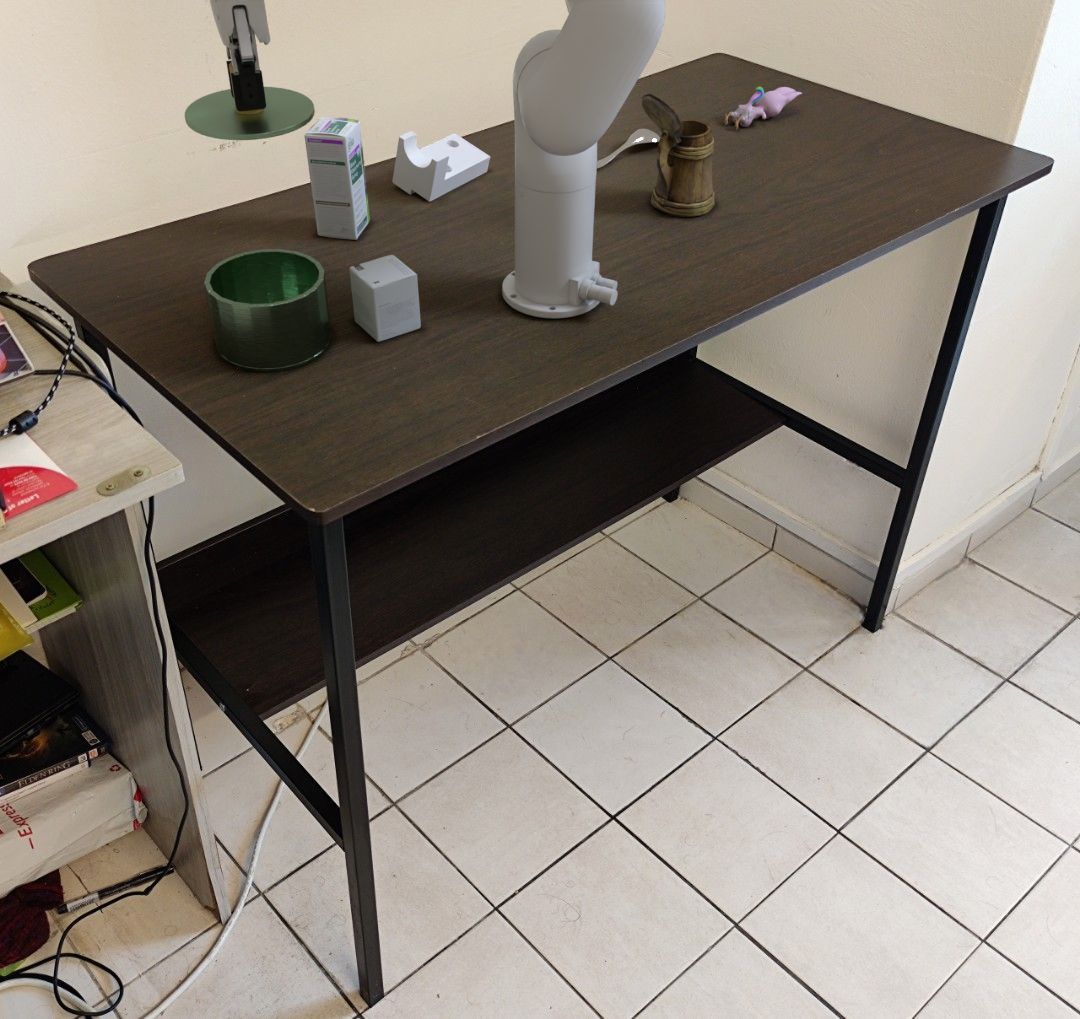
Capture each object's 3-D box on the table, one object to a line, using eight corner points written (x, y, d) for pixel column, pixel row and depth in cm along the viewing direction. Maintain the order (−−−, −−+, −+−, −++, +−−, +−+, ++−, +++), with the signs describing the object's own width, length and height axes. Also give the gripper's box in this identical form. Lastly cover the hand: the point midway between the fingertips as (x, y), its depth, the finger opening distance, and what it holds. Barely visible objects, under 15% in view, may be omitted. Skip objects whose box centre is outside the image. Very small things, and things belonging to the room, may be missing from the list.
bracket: (428, 207, 169) (436, 161, 163) (392, 182, 171) (399, 136, 165) (485, 177, 177) (495, 132, 171) (450, 153, 179) (458, 108, 173)
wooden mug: (616, 212, 167) (623, 84, 155) (679, 184, 174) (691, 60, 162) (663, 234, 162) (674, 103, 150) (726, 204, 169) (742, 78, 157)
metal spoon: (575, 156, 171) (553, 146, 174) (573, 180, 173) (552, 169, 176) (671, 131, 182) (650, 121, 185) (668, 153, 184) (647, 144, 187)
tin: (354, 332, 141) (347, 267, 136) (281, 384, 132) (271, 318, 127) (268, 301, 146) (259, 238, 141) (192, 350, 137) (179, 285, 132)
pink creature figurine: (743, 142, 190) (811, 107, 195) (743, 106, 185) (813, 72, 190) (717, 129, 193) (784, 95, 199) (716, 94, 189) (785, 61, 194)
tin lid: (340, 112, 133) (335, 56, 129) (259, 156, 124) (250, 97, 120) (244, 88, 139) (236, 33, 135) (159, 128, 129) (147, 71, 125)
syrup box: (357, 241, 159) (347, 136, 150) (315, 236, 160) (303, 131, 150) (370, 222, 163) (362, 118, 154) (329, 217, 164) (318, 114, 155)
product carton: (422, 328, 142) (418, 273, 137) (377, 343, 139) (372, 287, 134) (397, 307, 146) (393, 252, 141) (353, 321, 143) (347, 266, 138)
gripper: (272, -61, 113) (295, 127, 125) (249, -101, 125) (272, 73, 137) (192, -55, 111) (223, 135, 123) (176, -97, 123) (206, 80, 135)
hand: (248, 101), depth 130 cm, fingers closed on tin lid, 3 cm apart
